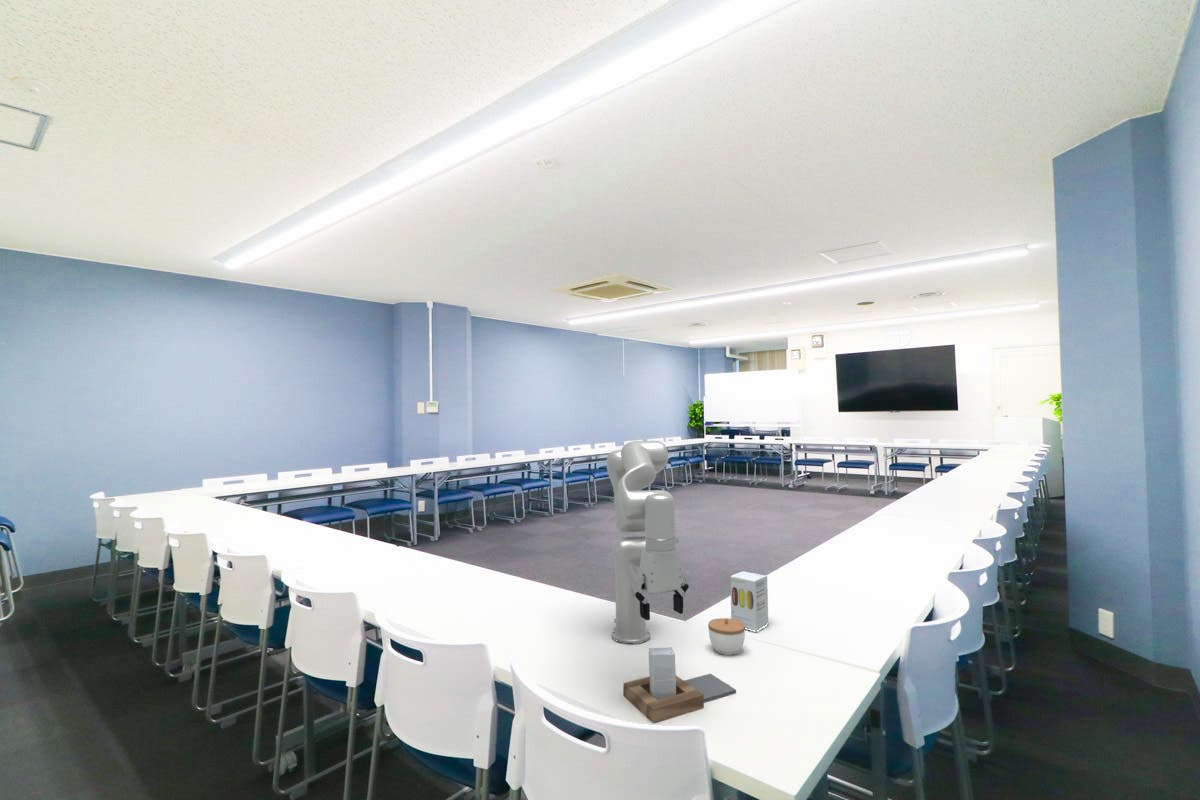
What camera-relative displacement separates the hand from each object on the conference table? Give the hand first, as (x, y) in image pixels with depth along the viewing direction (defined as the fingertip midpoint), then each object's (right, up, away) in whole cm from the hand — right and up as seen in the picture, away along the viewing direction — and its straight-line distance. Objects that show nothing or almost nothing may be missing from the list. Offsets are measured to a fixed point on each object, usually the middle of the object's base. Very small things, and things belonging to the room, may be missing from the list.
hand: (662, 615), depth 126 cm
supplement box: (+35, -24, +47) cm, 64 cm away
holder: (0, -20, -1) cm, 20 cm away
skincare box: (0, -21, -1) cm, 21 cm away
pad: (+12, -21, +5) cm, 24 cm away
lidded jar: (+23, -23, +28) cm, 42 cm away
